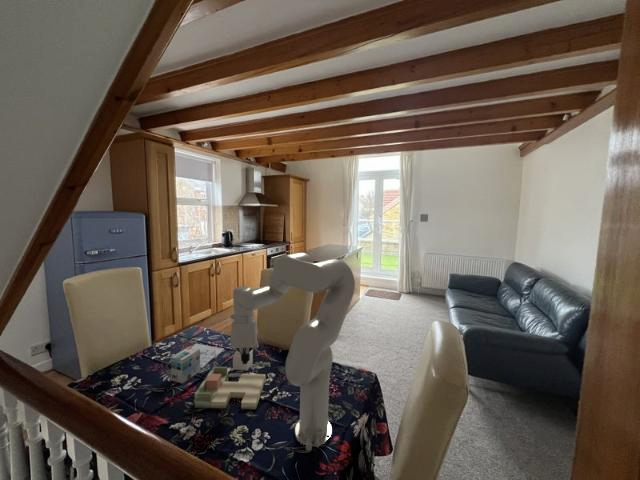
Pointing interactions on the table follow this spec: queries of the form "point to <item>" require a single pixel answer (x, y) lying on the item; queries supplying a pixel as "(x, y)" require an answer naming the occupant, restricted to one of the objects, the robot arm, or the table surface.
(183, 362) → the light bulb box
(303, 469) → the table surface
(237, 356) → the medicine bottle
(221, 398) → the trap deck
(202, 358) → the white patterned board
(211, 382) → the block
